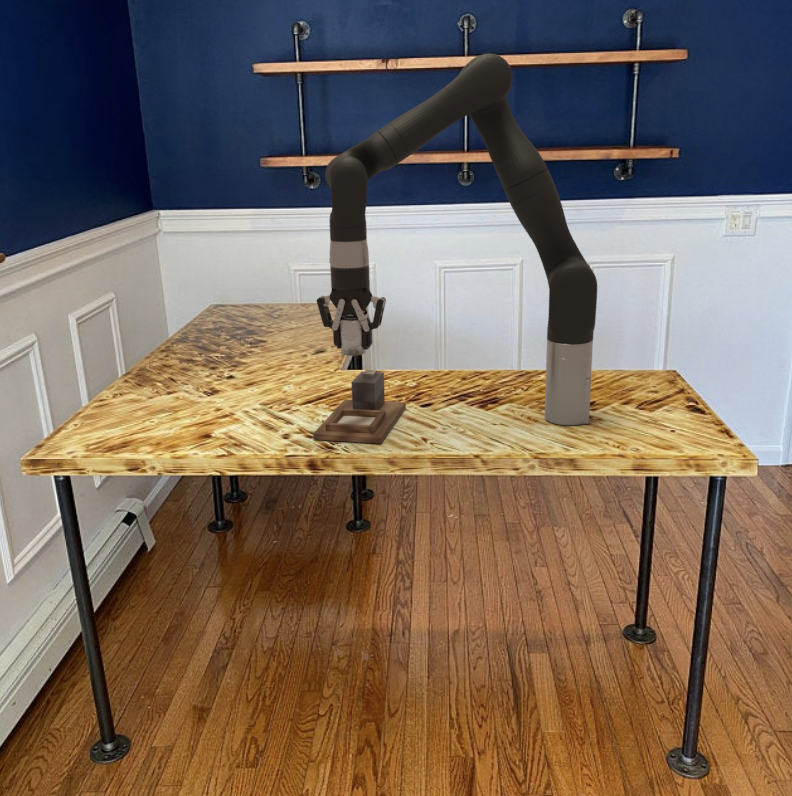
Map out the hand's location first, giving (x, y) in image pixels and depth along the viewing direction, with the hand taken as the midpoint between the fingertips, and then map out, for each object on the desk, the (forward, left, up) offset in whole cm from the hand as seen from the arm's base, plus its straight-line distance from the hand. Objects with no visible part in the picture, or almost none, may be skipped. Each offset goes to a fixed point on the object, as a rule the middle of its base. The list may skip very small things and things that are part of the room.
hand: (353, 347), depth 166 cm
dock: (0, -4, -17) cm, 18 cm away
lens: (0, 0, -1) cm, 1 cm away
